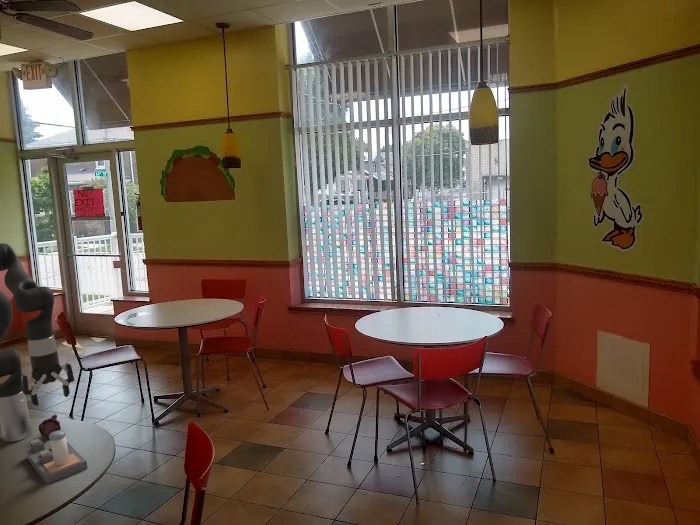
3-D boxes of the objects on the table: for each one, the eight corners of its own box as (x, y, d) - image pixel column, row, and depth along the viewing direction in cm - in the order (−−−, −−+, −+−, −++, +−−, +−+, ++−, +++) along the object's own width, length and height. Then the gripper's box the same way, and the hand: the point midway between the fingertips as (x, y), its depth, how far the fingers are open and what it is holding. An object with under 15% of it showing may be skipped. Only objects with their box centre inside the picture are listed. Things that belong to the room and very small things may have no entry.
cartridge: (51, 463, 176) (46, 434, 175) (66, 457, 180) (61, 428, 178) (57, 467, 173) (52, 438, 172) (72, 461, 177) (67, 432, 175)
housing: (26, 458, 188) (24, 445, 187) (64, 444, 196) (62, 432, 195) (46, 484, 169) (44, 470, 169) (87, 468, 177) (85, 455, 177)
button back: (32, 449, 188) (30, 441, 188) (39, 446, 190) (38, 438, 189) (33, 451, 186) (32, 443, 186) (41, 449, 188) (40, 440, 187)
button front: (41, 460, 179) (39, 452, 179) (49, 457, 181) (47, 449, 180) (43, 463, 177) (41, 454, 177) (51, 460, 179) (49, 451, 179)
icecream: (57, 425, 197) (66, 413, 212) (34, 424, 195) (45, 411, 210) (54, 444, 197) (64, 430, 212) (31, 443, 195) (42, 429, 210)
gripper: (64, 343, 178) (72, 391, 181) (14, 355, 169) (23, 405, 171) (71, 347, 173) (79, 396, 175) (20, 360, 163) (29, 411, 166)
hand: (51, 400), depth 173 cm, fingers open, 8 cm apart
